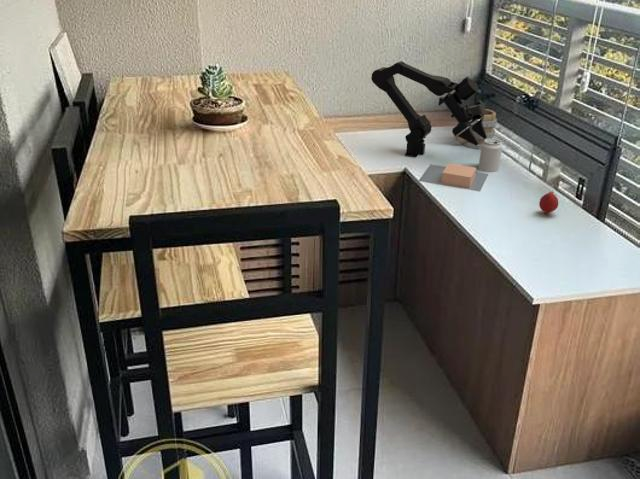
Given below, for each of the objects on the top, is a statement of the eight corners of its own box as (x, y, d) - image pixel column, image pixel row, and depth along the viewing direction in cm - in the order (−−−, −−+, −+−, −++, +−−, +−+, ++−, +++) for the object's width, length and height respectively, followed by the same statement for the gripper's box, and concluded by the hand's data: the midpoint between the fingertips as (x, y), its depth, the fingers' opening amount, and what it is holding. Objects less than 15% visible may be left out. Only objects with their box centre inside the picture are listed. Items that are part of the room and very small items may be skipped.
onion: (546, 218, 207) (551, 195, 204) (533, 211, 212) (538, 189, 208) (559, 215, 210) (564, 192, 206) (546, 208, 214) (551, 186, 210)
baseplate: (418, 183, 231) (418, 180, 230) (430, 166, 246) (430, 164, 245) (479, 194, 224) (480, 191, 223) (488, 176, 238) (488, 173, 238)
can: (498, 175, 239) (503, 144, 234) (478, 173, 241) (482, 143, 235) (497, 168, 246) (502, 138, 240) (477, 166, 247) (482, 136, 242)
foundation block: (441, 183, 229) (442, 172, 227) (447, 173, 237) (448, 163, 235) (469, 187, 226) (470, 177, 224) (474, 178, 234) (476, 167, 232)
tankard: (484, 138, 277) (489, 104, 270) (498, 148, 266) (504, 113, 259) (441, 141, 273) (445, 106, 266) (454, 151, 262) (458, 115, 255)
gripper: (464, 100, 228) (490, 136, 228) (482, 89, 242) (506, 123, 242) (441, 118, 235) (466, 152, 235) (460, 106, 249) (483, 139, 249)
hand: (481, 141), depth 240 cm, fingers open, 9 cm apart
